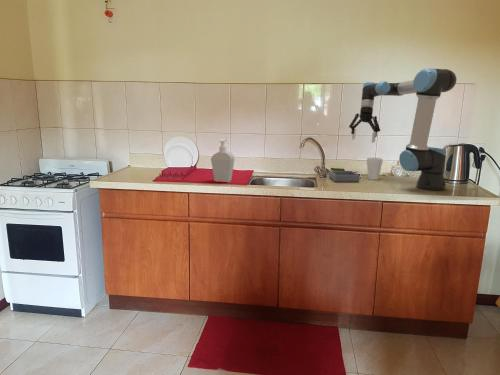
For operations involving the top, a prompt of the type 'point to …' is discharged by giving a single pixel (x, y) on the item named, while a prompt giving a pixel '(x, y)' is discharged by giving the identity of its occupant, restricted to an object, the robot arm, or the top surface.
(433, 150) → the robot arm
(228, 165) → the soap bottle
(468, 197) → the top surface
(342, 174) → the tray
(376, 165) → the foam cup
